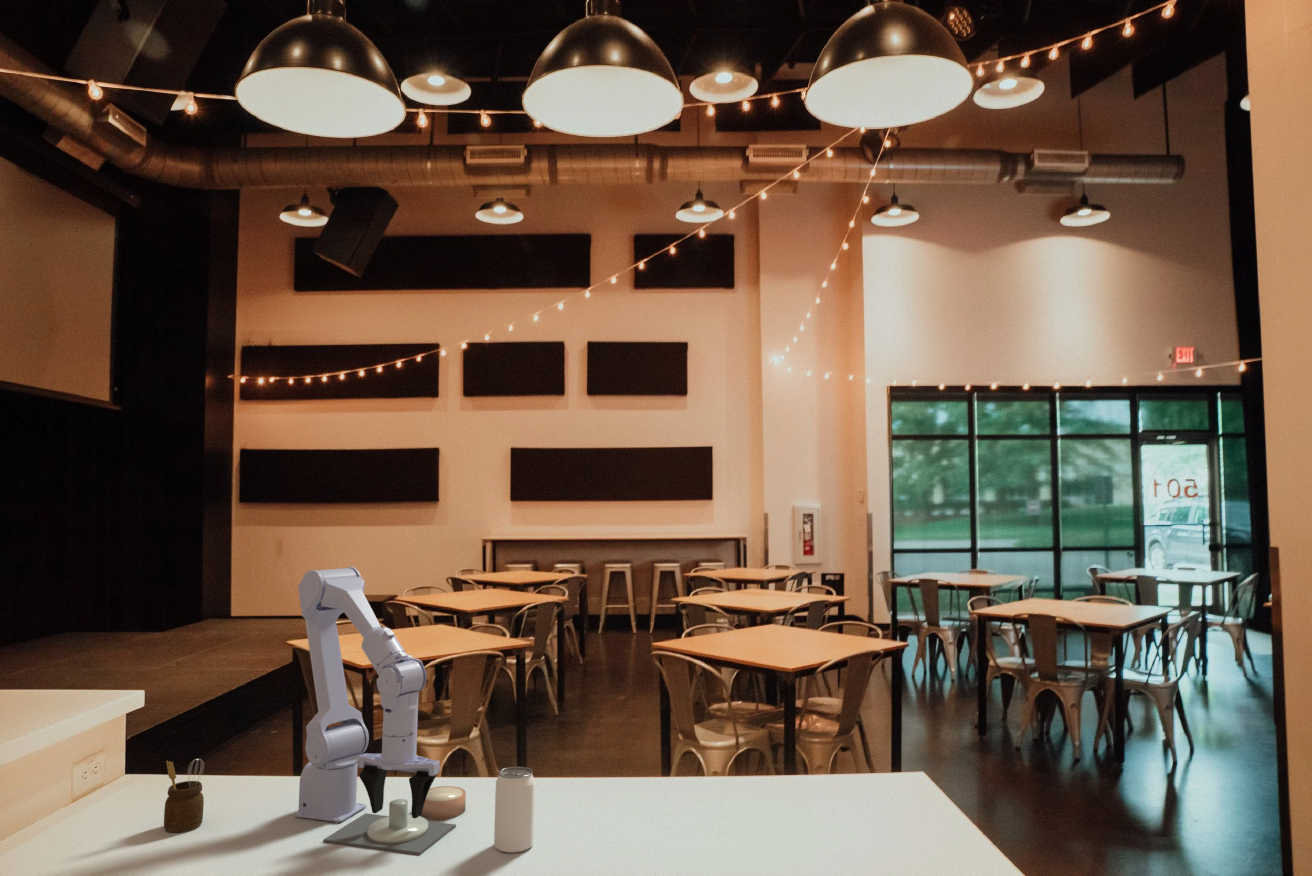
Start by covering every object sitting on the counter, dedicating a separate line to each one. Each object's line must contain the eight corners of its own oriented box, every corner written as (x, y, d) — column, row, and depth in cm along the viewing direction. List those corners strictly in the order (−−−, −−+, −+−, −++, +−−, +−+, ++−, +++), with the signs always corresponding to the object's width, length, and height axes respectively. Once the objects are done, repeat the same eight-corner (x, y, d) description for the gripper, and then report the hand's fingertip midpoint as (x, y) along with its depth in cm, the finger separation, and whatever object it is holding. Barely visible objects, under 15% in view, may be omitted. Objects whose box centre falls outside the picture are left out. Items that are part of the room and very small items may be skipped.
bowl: (409, 816, 150) (409, 799, 151) (432, 800, 158) (433, 783, 159) (451, 821, 148) (452, 804, 148) (473, 804, 156) (473, 788, 157)
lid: (354, 838, 139) (355, 809, 140) (390, 815, 149) (390, 788, 149) (406, 847, 136) (407, 817, 137) (439, 823, 146) (440, 795, 146)
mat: (323, 841, 139) (323, 839, 139) (365, 815, 151) (365, 813, 151) (420, 854, 134) (420, 852, 134) (455, 826, 146) (455, 824, 146)
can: (525, 855, 135) (527, 779, 135) (487, 851, 136) (489, 776, 137) (538, 839, 141) (540, 767, 142) (502, 836, 142) (504, 764, 143)
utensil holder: (210, 823, 146) (214, 753, 147) (176, 836, 140) (180, 763, 141) (187, 817, 148) (191, 748, 149) (153, 830, 143) (157, 758, 143)
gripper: (349, 734, 141) (345, 817, 140) (425, 742, 138) (422, 827, 137) (373, 724, 148) (370, 802, 147) (446, 731, 145) (444, 811, 144)
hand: (397, 813), depth 142 cm, fingers open, 7 cm apart
